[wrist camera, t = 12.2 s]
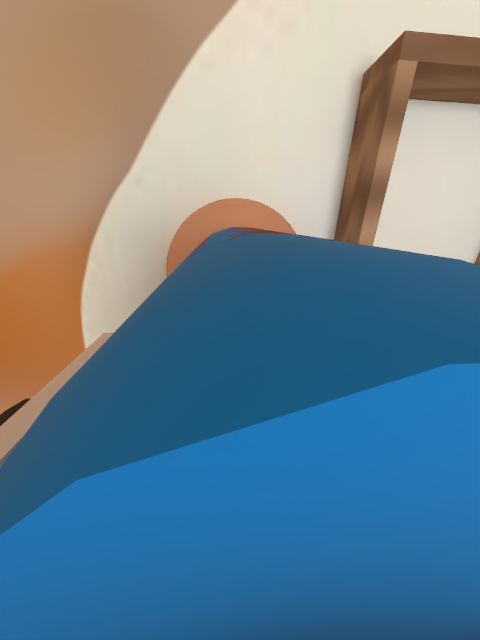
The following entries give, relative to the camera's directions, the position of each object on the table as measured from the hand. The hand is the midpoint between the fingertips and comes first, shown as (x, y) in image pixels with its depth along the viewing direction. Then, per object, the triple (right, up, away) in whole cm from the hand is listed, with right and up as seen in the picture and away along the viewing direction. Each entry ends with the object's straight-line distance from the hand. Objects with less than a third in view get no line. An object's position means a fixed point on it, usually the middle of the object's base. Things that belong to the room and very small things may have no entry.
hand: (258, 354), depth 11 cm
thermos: (-1, +7, +15) cm, 17 cm away
